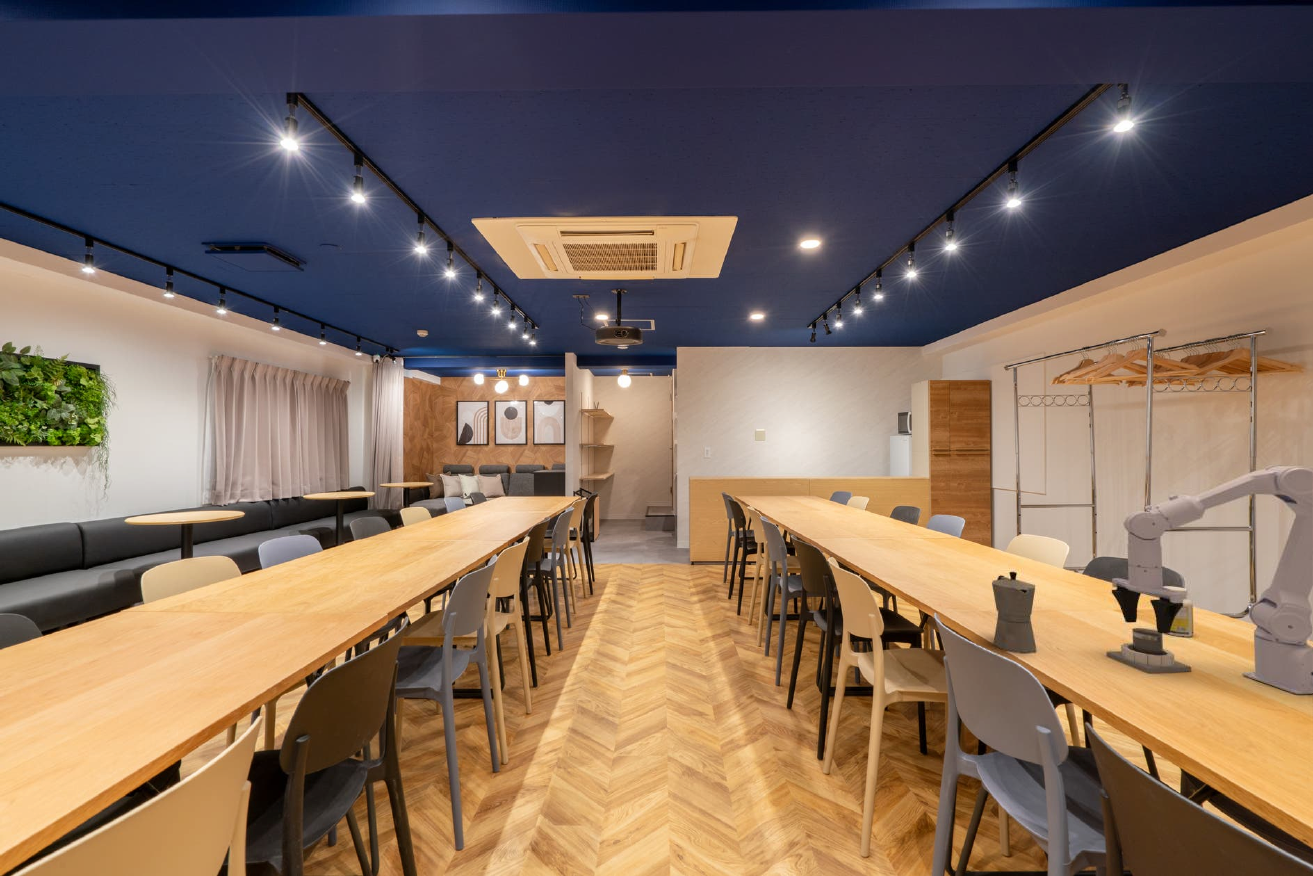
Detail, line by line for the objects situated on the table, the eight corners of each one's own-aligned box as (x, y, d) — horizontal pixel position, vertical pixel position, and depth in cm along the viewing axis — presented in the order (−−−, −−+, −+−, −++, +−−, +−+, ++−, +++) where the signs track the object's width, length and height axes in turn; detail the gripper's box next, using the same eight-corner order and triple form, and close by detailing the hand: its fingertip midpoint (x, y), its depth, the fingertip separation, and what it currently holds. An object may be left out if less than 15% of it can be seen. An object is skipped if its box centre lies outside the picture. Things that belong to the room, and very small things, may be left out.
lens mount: (1191, 671, 119) (1191, 657, 119) (1148, 673, 118) (1148, 659, 118) (1146, 654, 129) (1146, 641, 129) (1106, 656, 128) (1106, 643, 128)
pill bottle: (1179, 629, 147) (1178, 585, 147) (1200, 638, 141) (1199, 591, 141) (1152, 629, 148) (1151, 585, 148) (1172, 637, 141) (1171, 591, 142)
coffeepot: (1049, 658, 127) (1048, 578, 128) (1004, 655, 129) (1002, 577, 130) (1020, 636, 143) (1018, 565, 143) (979, 633, 144) (978, 563, 145)
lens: (1169, 662, 122) (1168, 634, 122) (1150, 663, 121) (1148, 635, 121) (1146, 654, 127) (1145, 627, 127) (1127, 655, 126) (1126, 628, 126)
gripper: (1099, 559, 131) (1101, 618, 131) (1160, 573, 117) (1162, 638, 116) (1127, 559, 132) (1128, 617, 132) (1191, 572, 117) (1193, 637, 117)
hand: (1146, 627), depth 124 cm, fingers open, 7 cm apart
